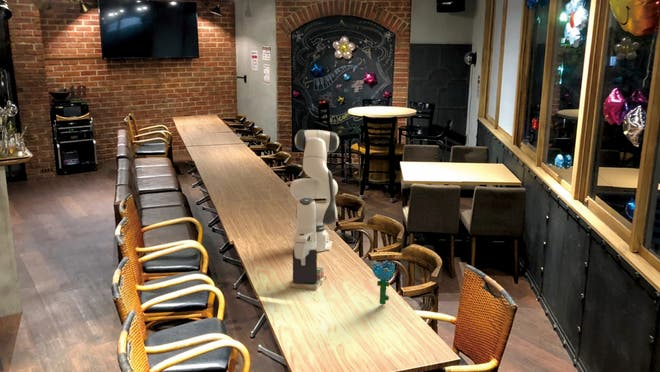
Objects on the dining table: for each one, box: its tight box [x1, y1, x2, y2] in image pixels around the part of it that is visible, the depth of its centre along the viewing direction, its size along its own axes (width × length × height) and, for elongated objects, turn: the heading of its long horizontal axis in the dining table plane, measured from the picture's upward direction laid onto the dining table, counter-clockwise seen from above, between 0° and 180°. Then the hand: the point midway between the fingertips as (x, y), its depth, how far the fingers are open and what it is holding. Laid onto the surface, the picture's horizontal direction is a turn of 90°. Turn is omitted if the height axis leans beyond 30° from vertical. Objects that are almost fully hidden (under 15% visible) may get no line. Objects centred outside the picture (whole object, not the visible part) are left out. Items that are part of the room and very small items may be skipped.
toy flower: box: [372, 260, 396, 306], centre depth 255 cm, size 9×9×18 cm
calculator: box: [292, 249, 318, 283], centre depth 274 cm, size 11×4×15 cm, turn 97°
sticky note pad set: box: [289, 265, 328, 291], centre depth 279 cm, size 15×13×7 cm
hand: (306, 262), depth 275 cm, fingers closed on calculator, 5 cm apart
